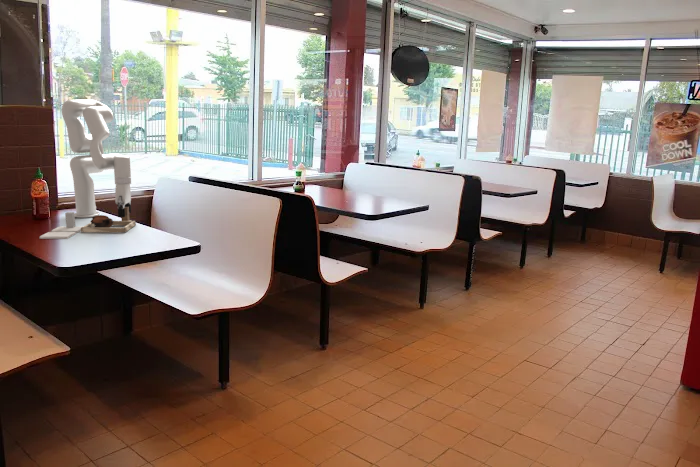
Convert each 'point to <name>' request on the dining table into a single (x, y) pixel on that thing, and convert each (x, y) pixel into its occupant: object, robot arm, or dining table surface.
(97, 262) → the dining table surface
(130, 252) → the dining table surface
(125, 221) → the beige rectangular tray
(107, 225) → the brown rounded lump
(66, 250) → the dining table surface
